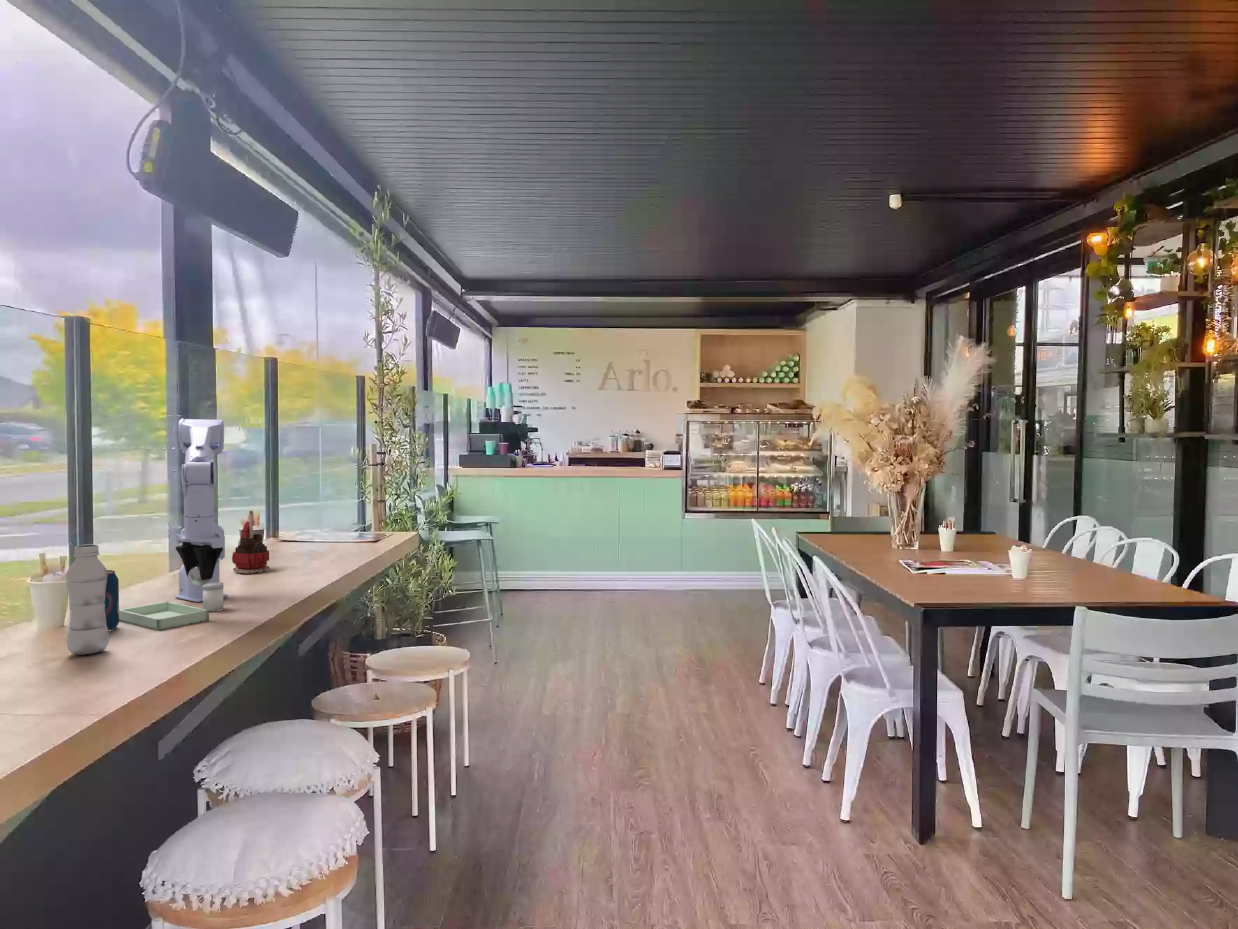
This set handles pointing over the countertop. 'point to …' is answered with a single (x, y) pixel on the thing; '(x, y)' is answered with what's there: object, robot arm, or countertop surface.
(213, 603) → the shaker
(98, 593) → the plastic bottle
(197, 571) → the ball
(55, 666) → the countertop surface
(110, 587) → the soda can
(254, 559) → the cake
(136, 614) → the tray
